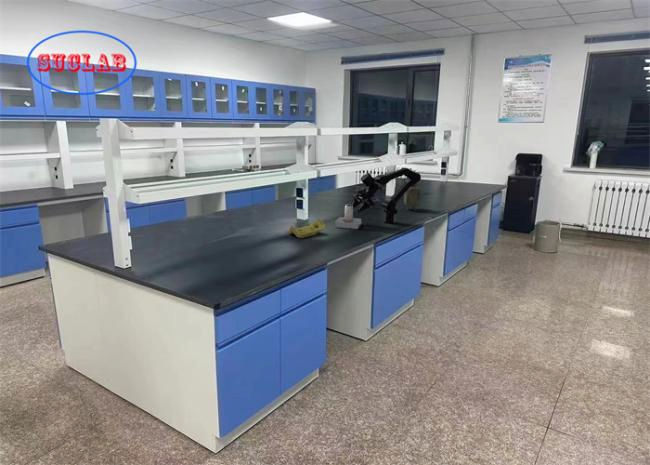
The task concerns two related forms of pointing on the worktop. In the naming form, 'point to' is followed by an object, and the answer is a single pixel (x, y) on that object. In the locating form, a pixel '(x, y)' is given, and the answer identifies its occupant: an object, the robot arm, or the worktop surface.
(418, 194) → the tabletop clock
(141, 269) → the worktop surface
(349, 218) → the plug
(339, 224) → the socket box
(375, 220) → the worktop surface
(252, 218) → the worktop surface
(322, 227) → the plastic component
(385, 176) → the robot arm
